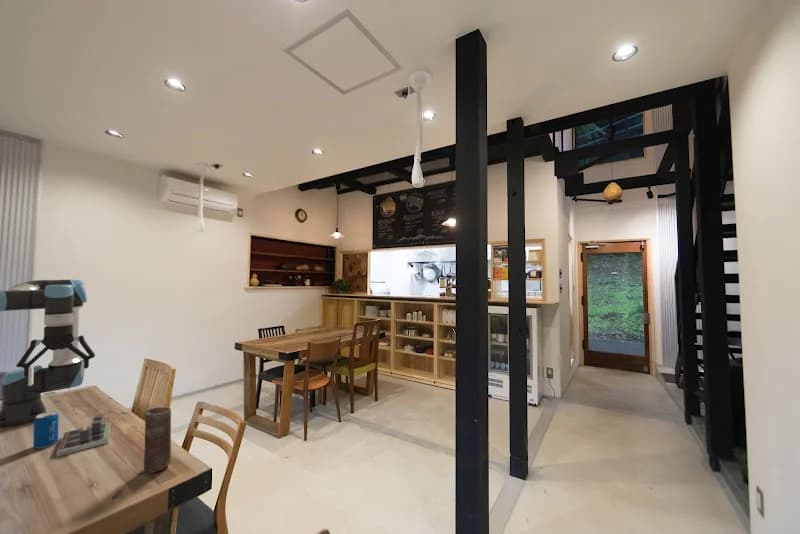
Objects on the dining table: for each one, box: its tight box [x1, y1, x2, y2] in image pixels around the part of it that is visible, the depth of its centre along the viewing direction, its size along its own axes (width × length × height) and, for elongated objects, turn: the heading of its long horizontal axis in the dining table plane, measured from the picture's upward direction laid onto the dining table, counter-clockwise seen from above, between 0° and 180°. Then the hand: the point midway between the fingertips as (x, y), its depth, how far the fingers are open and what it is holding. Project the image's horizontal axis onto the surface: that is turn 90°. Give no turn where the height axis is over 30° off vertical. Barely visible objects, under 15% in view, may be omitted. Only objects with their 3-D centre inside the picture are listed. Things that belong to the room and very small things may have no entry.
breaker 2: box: [91, 419, 101, 434], centre depth 130 cm, size 4×2×4 cm, turn 40°
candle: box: [143, 406, 172, 475], centre depth 110 cm, size 8×7×20 cm
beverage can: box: [33, 410, 60, 449], centre depth 124 cm, size 6×6×12 cm
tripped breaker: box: [80, 426, 91, 442], centre depth 123 cm, size 4×2×4 cm, turn 40°
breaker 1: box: [93, 414, 103, 426], centre depth 134 cm, size 4×2×4 cm, turn 40°
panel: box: [56, 421, 112, 457], centre depth 128 cm, size 18×14×2 cm
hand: (57, 380), depth 120 cm, fingers open, 13 cm apart
